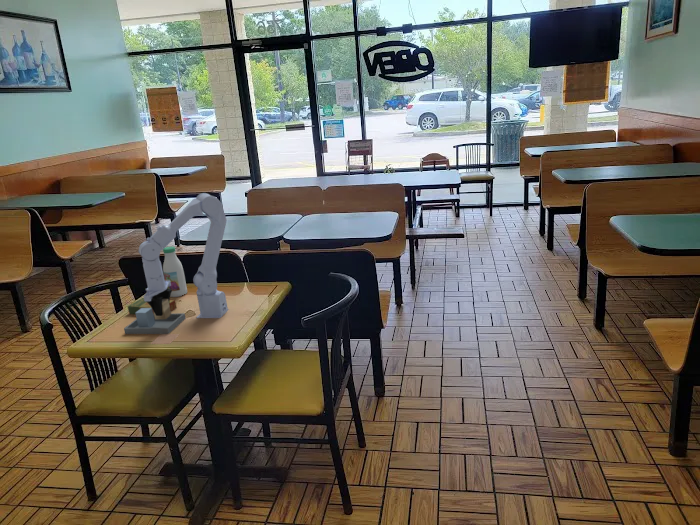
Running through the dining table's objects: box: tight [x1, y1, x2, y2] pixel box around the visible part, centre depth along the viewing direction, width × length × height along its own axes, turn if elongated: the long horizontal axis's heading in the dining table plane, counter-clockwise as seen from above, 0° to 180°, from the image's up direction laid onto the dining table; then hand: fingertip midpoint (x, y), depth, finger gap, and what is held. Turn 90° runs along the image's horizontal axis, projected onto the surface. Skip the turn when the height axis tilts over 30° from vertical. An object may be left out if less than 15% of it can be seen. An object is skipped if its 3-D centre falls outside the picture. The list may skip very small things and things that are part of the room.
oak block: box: [153, 299, 172, 319], centre depth 181 cm, size 4×4×6 cm
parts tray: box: [123, 312, 186, 335], centre depth 183 cm, size 16×12×2 cm
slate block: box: [134, 308, 155, 328], centre depth 183 cm, size 4×4×6 cm
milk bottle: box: [162, 246, 188, 298], centre depth 212 cm, size 8×8×20 cm
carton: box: [127, 297, 178, 315], centre depth 197 cm, size 8×16×4 cm, turn 70°
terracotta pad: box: [150, 333, 180, 345], centre depth 173 cm, size 7×7×1 cm
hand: (162, 312), depth 181 cm, fingers closed on oak block, 4 cm apart
